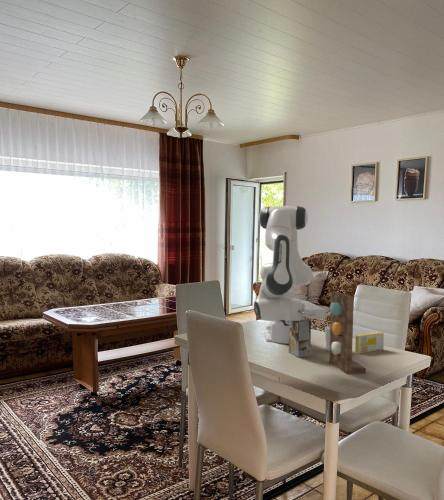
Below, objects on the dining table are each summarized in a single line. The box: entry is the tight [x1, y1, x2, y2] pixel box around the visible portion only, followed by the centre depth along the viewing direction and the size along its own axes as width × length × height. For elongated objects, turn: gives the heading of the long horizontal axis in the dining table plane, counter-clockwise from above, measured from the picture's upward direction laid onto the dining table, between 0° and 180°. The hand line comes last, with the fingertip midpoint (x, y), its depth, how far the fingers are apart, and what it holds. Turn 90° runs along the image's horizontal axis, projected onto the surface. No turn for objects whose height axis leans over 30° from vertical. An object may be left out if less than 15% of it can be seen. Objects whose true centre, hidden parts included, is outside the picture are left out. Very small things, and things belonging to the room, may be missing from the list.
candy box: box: [354, 331, 385, 354], centre depth 201 cm, size 16×2×8 cm, turn 116°
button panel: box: [328, 290, 367, 375], centre depth 175 cm, size 16×8×30 cm, turn 10°
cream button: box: [331, 342, 341, 354], centre depth 175 cm, size 5×4×5 cm
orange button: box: [332, 322, 342, 335], centre depth 174 cm, size 5×4×5 cm
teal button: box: [329, 302, 343, 315], centre depth 174 cm, size 5×4×5 cm
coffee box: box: [288, 317, 312, 358], centre depth 193 cm, size 9×6×16 cm
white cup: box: [324, 326, 330, 351], centre depth 202 cm, size 8×8×10 cm
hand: (327, 309), depth 173 cm, fingers closed
